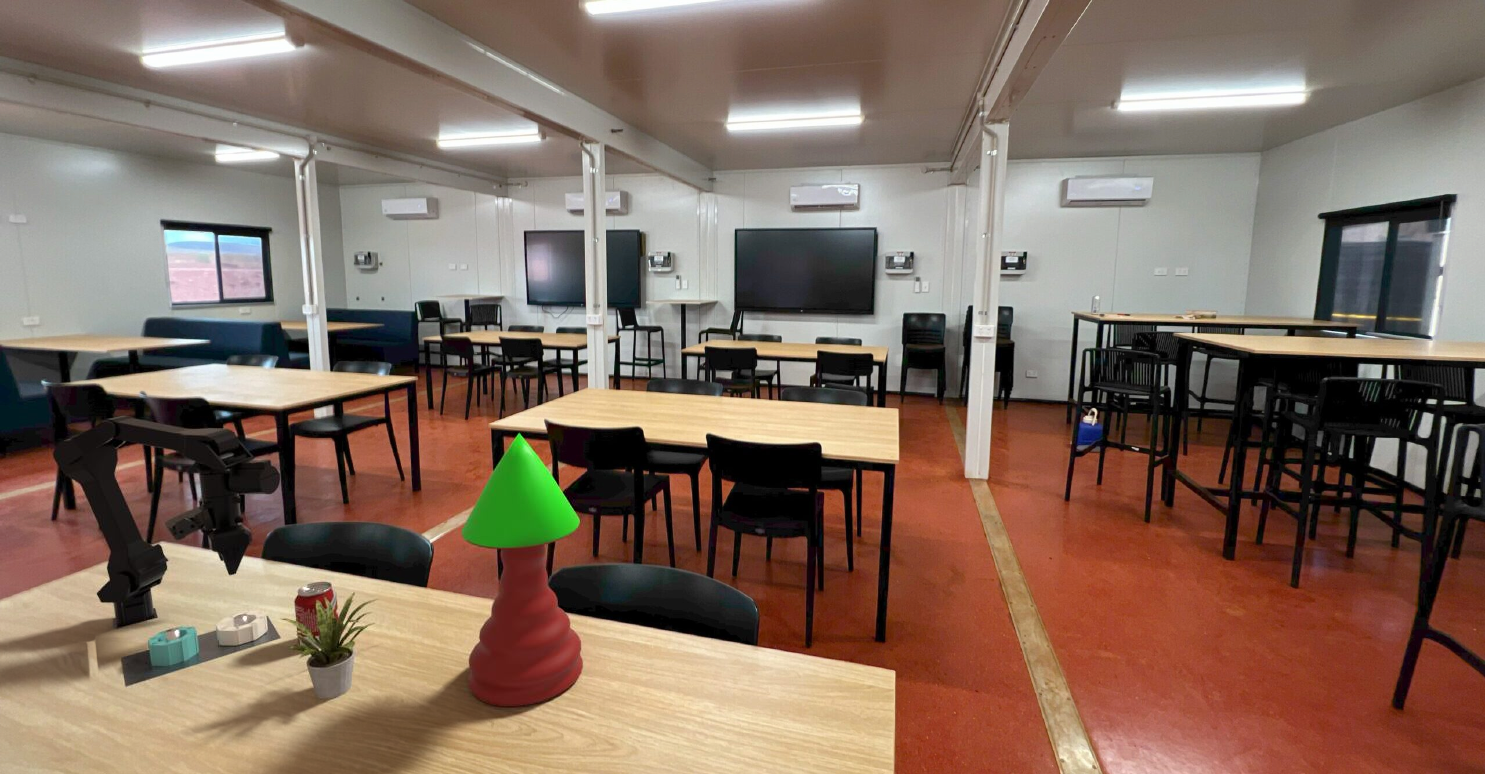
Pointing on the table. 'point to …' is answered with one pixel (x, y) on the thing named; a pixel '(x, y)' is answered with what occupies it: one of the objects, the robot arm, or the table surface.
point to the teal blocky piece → (173, 647)
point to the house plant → (330, 650)
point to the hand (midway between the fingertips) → (228, 567)
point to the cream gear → (241, 628)
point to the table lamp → (522, 585)
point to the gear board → (209, 649)
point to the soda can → (313, 606)
